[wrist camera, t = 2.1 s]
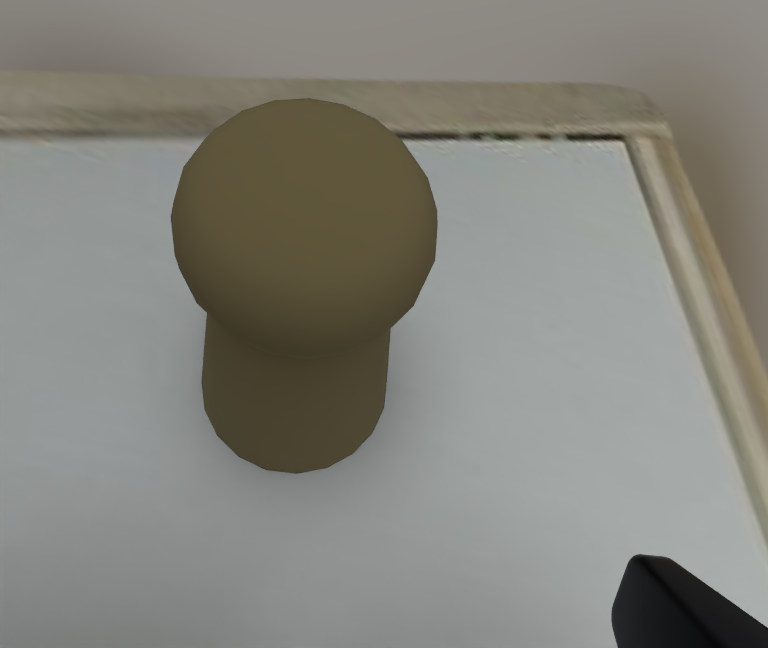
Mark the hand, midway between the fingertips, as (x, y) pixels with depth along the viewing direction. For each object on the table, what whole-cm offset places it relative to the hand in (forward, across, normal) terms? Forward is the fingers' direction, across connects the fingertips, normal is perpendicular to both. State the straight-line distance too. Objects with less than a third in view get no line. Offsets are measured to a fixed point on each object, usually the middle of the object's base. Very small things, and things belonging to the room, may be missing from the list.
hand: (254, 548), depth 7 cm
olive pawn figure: (+13, 0, +4) cm, 14 cm away
